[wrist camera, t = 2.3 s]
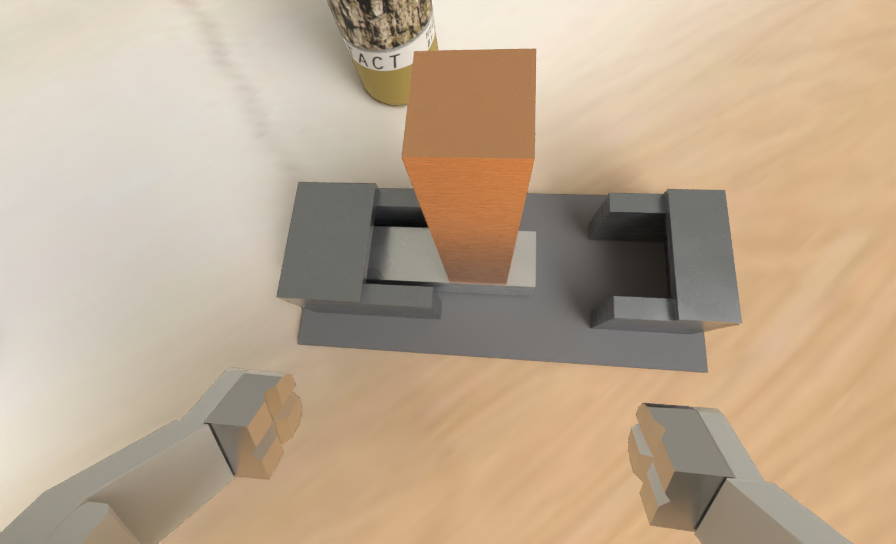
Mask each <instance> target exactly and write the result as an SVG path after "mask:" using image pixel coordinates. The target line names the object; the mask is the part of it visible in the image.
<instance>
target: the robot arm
mask: <svg viewBox="0 0 896 544" xmlns="http://www.w3.org/2000/svg"><path fill="white" fill-rule="evenodd" d="M295 385H296V384H295V381H294V378H293V375H291V374H287V373H279V372H270V371H261V370H252V369H250V370H249V369H240V368H230V369H228V370H226V371H225V372H224V373H223V374H222V375H221V376H220V377H219V378H218V380H217V381H216V382H215V383H214V384H213V385H212V386H211V387H210V389H209V390H208V391H207V392H206V393H205V394H204V395H203V396H202V398H201V399H200V400H199V401H198V402H197V403H196V404H195V405H194V407H193V408H192V409H191V410H190V411H189V412H188V413H187V414H186V416H185V417H184V418H183V419H182V420H181V421H173V422H171V423H169V424H167V425H166V426H164V427H162V428H160V429H158V430H157V431H155V432H153V433H151V434H149V435H147V436H146V437H144V438H142V439H140V440H138V441H136V442H135V443H133V444H131V445H129V446H127V447H126V448H124V449H122V450H120V451H118V452H116V453H115V454H113V455H111V456H109V457H107V458H105V459H104V460H102V461H100V462H98V463H96V464H95V465H93V466H91V467H89V468H87V469H85V470H84V471H82V472H80V473H78V474H76V475H74V476H73V477H71V478H69V479H67V480H65V481H64V482H62V483H60V484H58V485H56V486H54V487H53V488H51V489H49V490H47V491H45V492H44V493H42V494H41V495H40V496H39V497H38V498H37V499H36V500H35V501H34V502H33V503H32V504H31V505H30V506H29V507H28V508H27V509H25V510H24V511H23V512H22V513H21V514H20V515H19V516H18V517H17V518H16V519H15V520H14V521H13V522H12V523H11V524H10V525H9V526H8V527H6V528H5V529H4V530H3V531H2V532H1V533H0V544H158V543H159V542H160V541H161V540H162V539H164V538H165V537H166V536H167V535H168V534H169V533H171V532H172V531H173V530H174V529H175V528H177V527H178V526H179V525H180V524H181V523H183V522H184V521H185V520H186V519H187V518H188V517H190V516H191V515H192V514H193V513H194V512H196V511H197V510H198V509H199V508H200V507H202V506H203V505H204V504H205V503H206V502H207V501H209V500H210V499H211V498H212V497H213V496H215V495H216V494H217V493H218V492H219V491H221V490H222V489H223V488H224V487H225V486H227V485H228V484H229V483H230V482H231V481H232V480H234V476H235V477H246V478H257V479H268V480H269V479H270V477H271V476H272V474H273V472H274V470H275V468H276V467H277V465H278V463H279V461H280V459H281V458H282V456H283V454H284V451H283V443H285V442H286V441H288V440H289V439H290V438H292V437H293V436H294V434H295V432H296V430H297V428H298V426H299V423H300V419H301V415H302V404H301V400H300V397H299V396H297V395H296V394H295V393H294V392H293V391H292V390H293V389H294V387H295ZM636 416H637V419H638V422H639V423H638V424H637V425H635V426H634V427H632V428H631V431H630V435H629V438H628V452H629V458H630V463H631V466H632V470H633V473H634V474H635V475H636V476H637V477H638V478H639V479H640V480H641V481H642V482H643V485H642V488H641V490H640V496H641V499H642V502H643V505H644V508H645V511H646V514H647V518H648V521H649V524H650V525H651V526H658V527H664V528H671V529H678V530H685V531H691V532H695V536H696V537H697V538H698V539H699V540H700V542H701V543H702V544H853V543H852V542H850V541H849V540H848V539H846V538H845V537H844V536H842V535H841V534H840V533H839V532H837V531H836V530H835V529H833V528H832V527H831V526H829V525H828V524H827V523H826V522H824V521H823V520H822V519H820V518H819V517H818V516H816V515H815V514H814V513H813V512H811V511H810V510H809V509H807V508H806V507H805V506H804V505H802V504H801V503H800V502H798V501H797V500H796V499H794V498H793V497H792V496H791V495H789V494H788V493H787V492H785V491H784V490H783V489H781V488H780V487H779V486H778V485H776V484H775V483H770V482H766V481H765V480H764V478H763V477H762V475H761V473H760V472H759V470H758V469H757V467H756V465H755V464H754V462H753V461H752V459H751V457H750V456H749V454H748V453H747V451H746V449H745V448H744V446H743V444H742V443H741V441H740V440H739V438H738V436H737V435H736V433H735V432H734V430H733V428H732V427H731V425H730V424H729V422H728V420H727V419H726V417H725V416H724V414H723V413H722V412H721V411H720V410H718V409H714V408H701V407H689V406H677V405H664V404H650V403H642V404H641V405H640V406H639V407H638V410H637V413H636Z"/></svg>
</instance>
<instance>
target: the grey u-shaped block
mask: <svg viewBox="0 0 896 544" xmlns="http://www.w3.org/2000/svg"><path fill="white" fill-rule="evenodd" d="M373 226H382V227H413V228H429V227H428V225H427V222H426V219H425V217H424V214H423V212H422V209H421V206H420V204H419V201H418V199H417V196H416V193H415V191H414V189H395V188H378V187H377V185H376V183H323V182H298V187H297V193H296V198H295V203H294V208H293V213H292V219H291V224H290V229H289V234H288V239H287V244H286V250H285V255H284V260H283V265H282V270H281V276H280V281H279V286H278V291H277V296H276V297H277V298H280V299H282V300H285V301H287V302H290V303H293V304H295V305H298V306H301V307H303V308H306V309H309V310H311V311H314V312H318V313H334V314H351V315H368V316H385V317H402V318H419V319H436V320H441V311H442V301H441V300H440V298H439V296H438V295H437V293H436V291H435V290H434V288H433V287H422V286H402V285H381V284H366V278H367V270H368V263H369V255H370V248H371V240H372V232H373Z"/></svg>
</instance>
